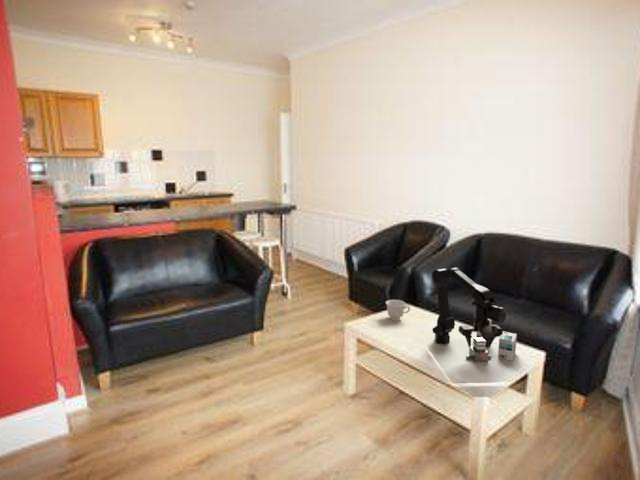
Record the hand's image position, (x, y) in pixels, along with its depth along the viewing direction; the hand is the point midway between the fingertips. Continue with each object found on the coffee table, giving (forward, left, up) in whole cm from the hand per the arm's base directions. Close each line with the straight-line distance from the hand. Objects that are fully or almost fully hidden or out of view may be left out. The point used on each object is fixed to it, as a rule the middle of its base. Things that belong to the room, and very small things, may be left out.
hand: (479, 347), depth 186 cm
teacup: (-26, +53, -7) cm, 59 cm away
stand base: (0, 0, -7) cm, 7 cm away
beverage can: (+9, +15, -7) cm, 19 cm away
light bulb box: (+15, +3, -7) cm, 17 cm away
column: (0, 0, -6) cm, 6 cm away
